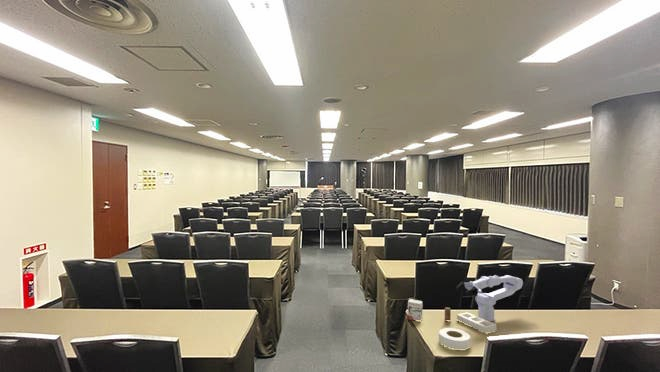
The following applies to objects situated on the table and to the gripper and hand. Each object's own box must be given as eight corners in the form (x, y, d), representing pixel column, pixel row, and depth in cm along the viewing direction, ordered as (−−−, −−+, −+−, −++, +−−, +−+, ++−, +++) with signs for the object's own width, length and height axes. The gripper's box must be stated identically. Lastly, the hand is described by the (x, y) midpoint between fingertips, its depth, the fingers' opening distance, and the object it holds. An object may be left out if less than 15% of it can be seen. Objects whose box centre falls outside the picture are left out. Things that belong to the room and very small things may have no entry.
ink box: (407, 319, 207) (407, 301, 207) (409, 316, 211) (409, 298, 211) (420, 322, 203) (421, 303, 203) (422, 319, 207) (422, 301, 207)
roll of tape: (434, 337, 183) (434, 327, 183) (461, 337, 184) (461, 327, 184) (446, 352, 167) (446, 341, 167) (475, 351, 168) (475, 340, 168)
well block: (466, 318, 209) (466, 312, 209) (496, 331, 191) (496, 324, 191) (456, 320, 205) (456, 314, 205) (486, 334, 187) (486, 327, 187)
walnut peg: (447, 319, 207) (447, 307, 207) (451, 321, 204) (451, 308, 204) (443, 320, 206) (443, 307, 206) (447, 322, 203) (447, 309, 203)
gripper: (467, 275, 211) (451, 281, 205) (486, 283, 198) (470, 289, 192) (467, 286, 212) (452, 292, 206) (487, 294, 198) (470, 300, 193)
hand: (460, 291), depth 199 cm, fingers open, 7 cm apart
